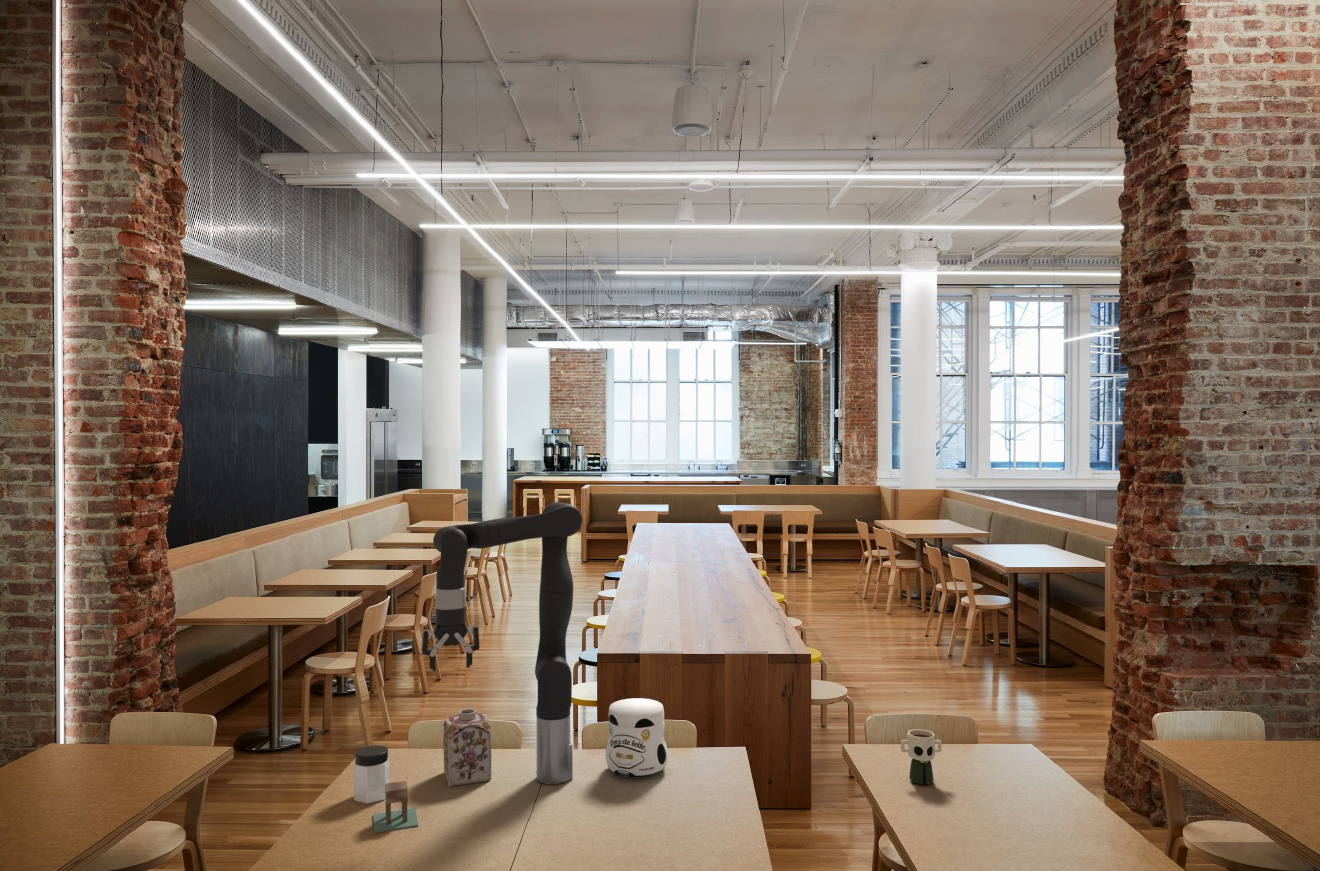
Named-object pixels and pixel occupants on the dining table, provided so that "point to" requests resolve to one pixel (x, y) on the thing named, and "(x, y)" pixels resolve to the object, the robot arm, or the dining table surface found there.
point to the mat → (395, 820)
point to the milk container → (636, 738)
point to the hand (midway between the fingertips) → (450, 668)
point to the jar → (371, 774)
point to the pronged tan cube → (396, 798)
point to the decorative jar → (467, 748)
